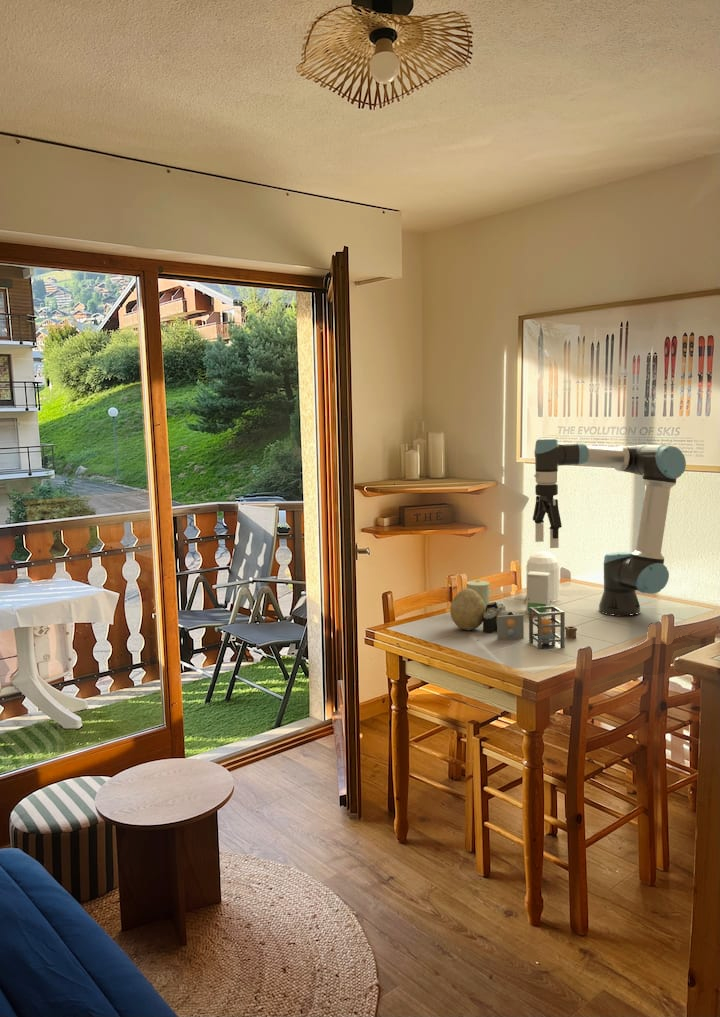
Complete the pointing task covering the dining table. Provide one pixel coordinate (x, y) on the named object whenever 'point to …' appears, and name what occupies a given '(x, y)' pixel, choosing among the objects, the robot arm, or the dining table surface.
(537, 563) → the container
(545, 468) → the robot arm
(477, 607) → the fossilized egg
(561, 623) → the open frame box
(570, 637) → the pedestal
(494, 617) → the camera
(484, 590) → the can
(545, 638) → the gray ball
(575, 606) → the dining table surface
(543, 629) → the orange ball
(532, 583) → the skincare box
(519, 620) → the sign
